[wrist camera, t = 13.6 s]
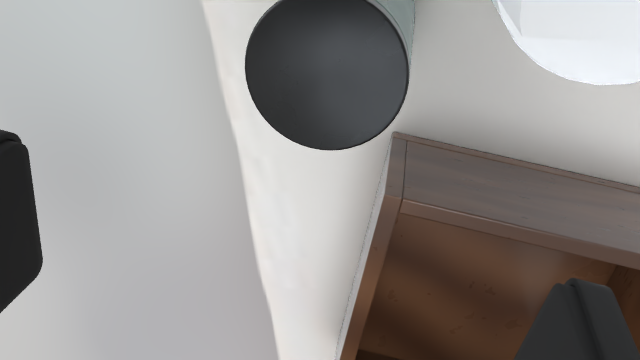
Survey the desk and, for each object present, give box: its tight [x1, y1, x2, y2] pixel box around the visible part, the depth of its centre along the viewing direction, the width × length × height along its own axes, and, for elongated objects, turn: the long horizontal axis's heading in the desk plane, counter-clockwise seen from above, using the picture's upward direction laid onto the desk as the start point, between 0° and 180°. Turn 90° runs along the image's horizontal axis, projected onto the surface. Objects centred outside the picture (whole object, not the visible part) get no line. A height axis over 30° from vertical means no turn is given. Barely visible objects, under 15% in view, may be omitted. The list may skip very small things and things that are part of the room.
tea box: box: [334, 132, 640, 360], centre depth 29 cm, size 17×15×7 cm
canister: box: [245, 0, 415, 150], centre depth 22 cm, size 6×6×10 cm
